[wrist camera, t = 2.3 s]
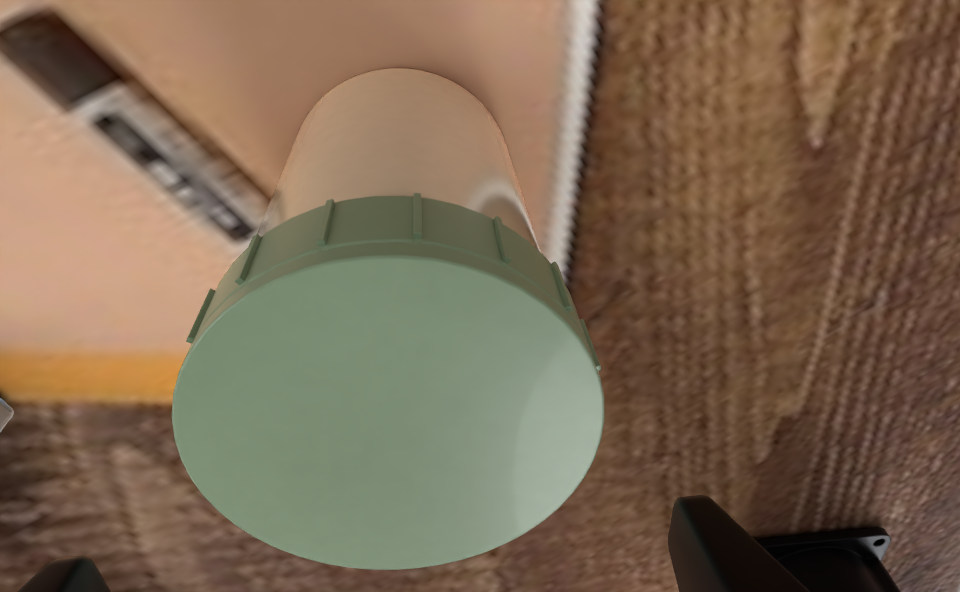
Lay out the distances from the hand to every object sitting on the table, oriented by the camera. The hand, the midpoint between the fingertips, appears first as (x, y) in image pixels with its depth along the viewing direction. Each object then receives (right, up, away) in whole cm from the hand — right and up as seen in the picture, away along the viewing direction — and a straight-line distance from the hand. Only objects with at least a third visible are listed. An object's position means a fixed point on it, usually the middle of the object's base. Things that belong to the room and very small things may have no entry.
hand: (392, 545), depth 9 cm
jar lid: (0, +1, +2) cm, 2 cm away
